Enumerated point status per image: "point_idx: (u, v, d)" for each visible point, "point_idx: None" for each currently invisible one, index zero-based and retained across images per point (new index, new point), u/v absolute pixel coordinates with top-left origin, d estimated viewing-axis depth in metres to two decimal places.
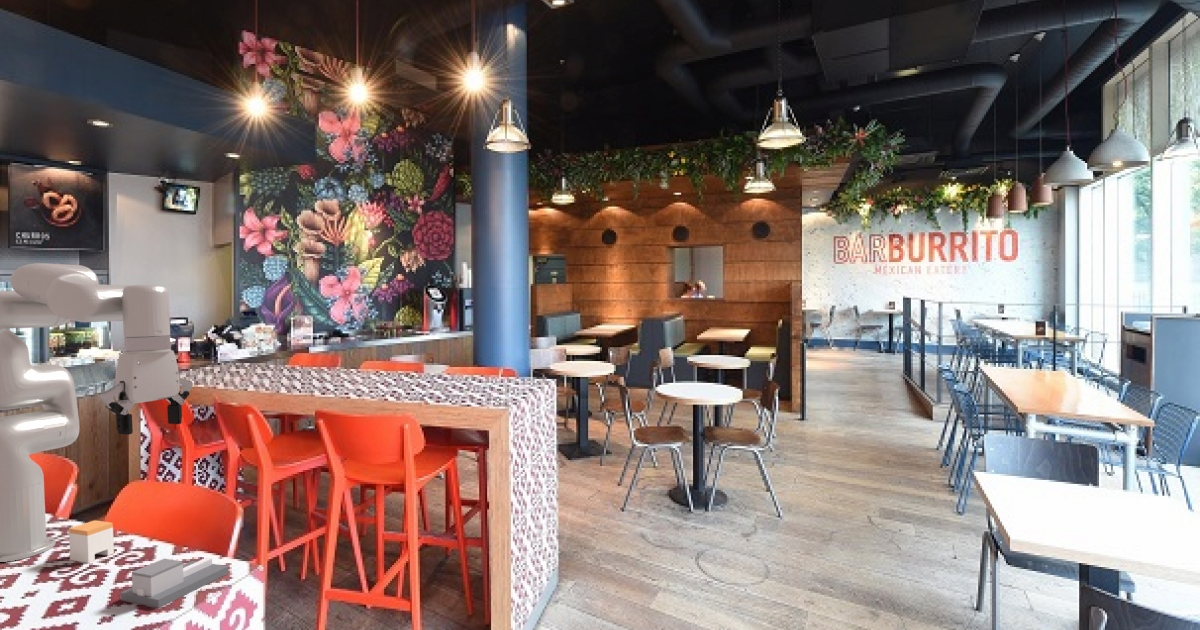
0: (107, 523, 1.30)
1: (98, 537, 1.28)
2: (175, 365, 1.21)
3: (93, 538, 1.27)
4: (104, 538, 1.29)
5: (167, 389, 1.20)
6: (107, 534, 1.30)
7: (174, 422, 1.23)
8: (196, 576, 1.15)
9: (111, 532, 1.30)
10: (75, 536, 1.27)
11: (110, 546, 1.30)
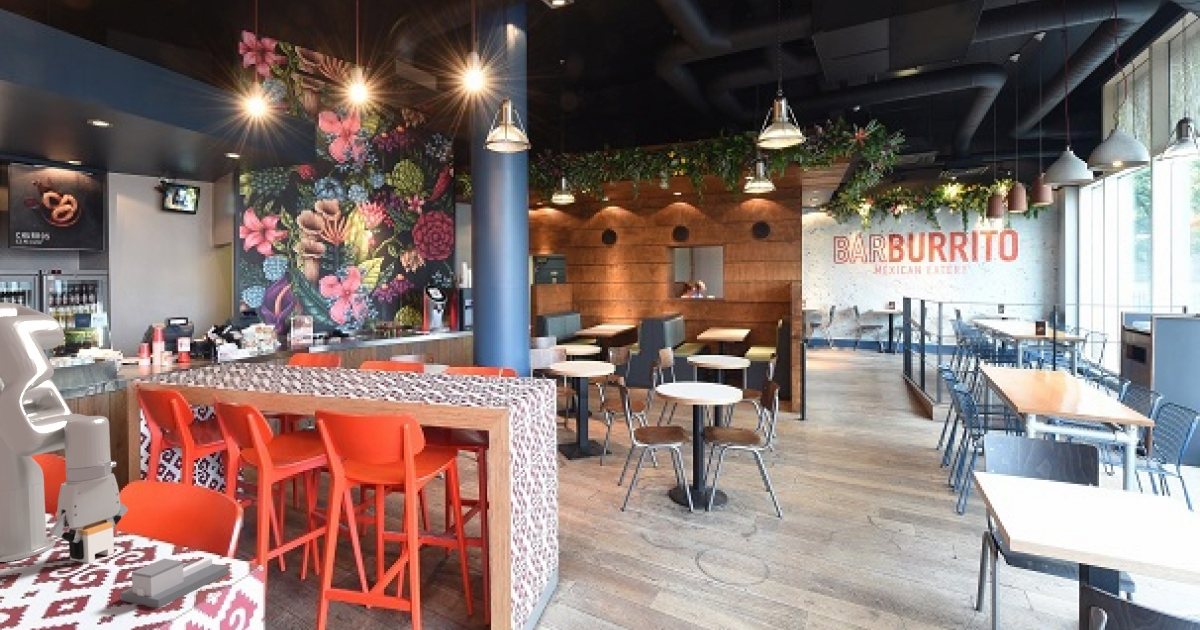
0: (107, 523, 1.30)
1: (98, 537, 1.28)
2: (115, 487, 1.32)
3: (93, 538, 1.27)
4: (104, 538, 1.29)
5: (107, 511, 1.30)
6: (108, 534, 1.30)
7: None
8: (196, 576, 1.15)
9: (111, 532, 1.30)
10: None
11: (110, 546, 1.30)
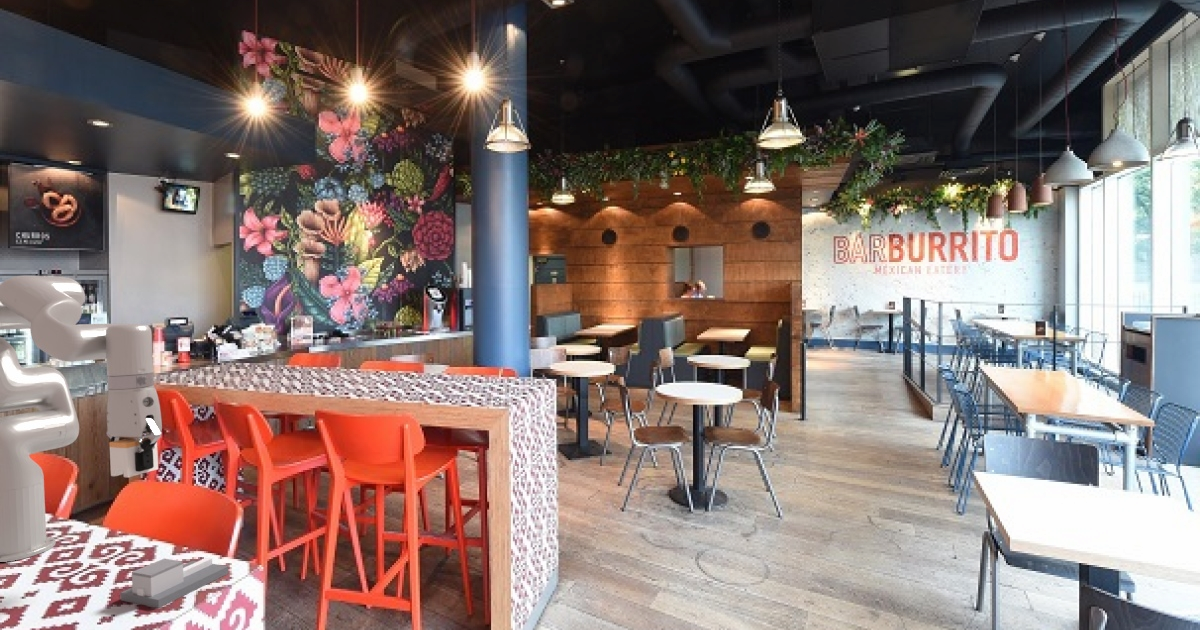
0: (126, 442, 1.19)
1: (116, 453, 1.19)
2: (134, 406, 1.18)
3: (113, 452, 1.19)
4: (120, 456, 1.19)
5: (128, 429, 1.19)
6: (123, 453, 1.18)
7: None
8: (196, 576, 1.15)
9: (125, 453, 1.18)
10: None
11: (125, 468, 1.18)
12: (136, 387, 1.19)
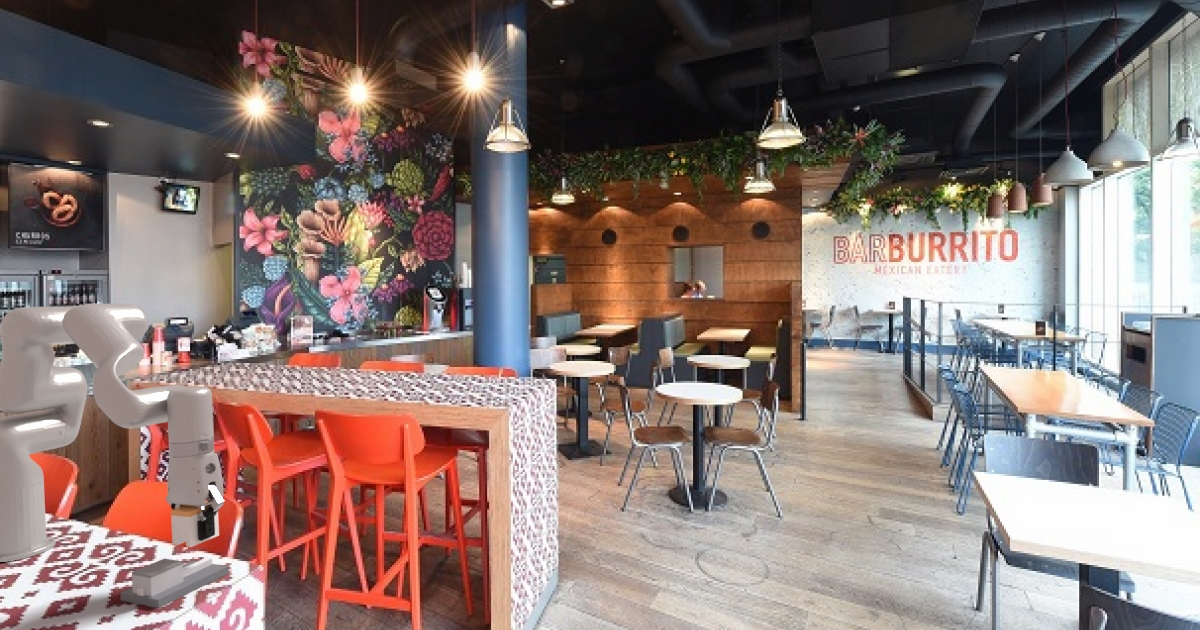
0: (189, 511, 1.15)
1: (178, 521, 1.15)
2: (197, 474, 1.15)
3: (175, 520, 1.16)
4: (183, 525, 1.15)
5: (190, 497, 1.15)
6: (185, 522, 1.15)
7: None
8: (196, 576, 1.15)
9: (188, 522, 1.14)
10: None
11: (188, 537, 1.15)
12: (198, 454, 1.15)
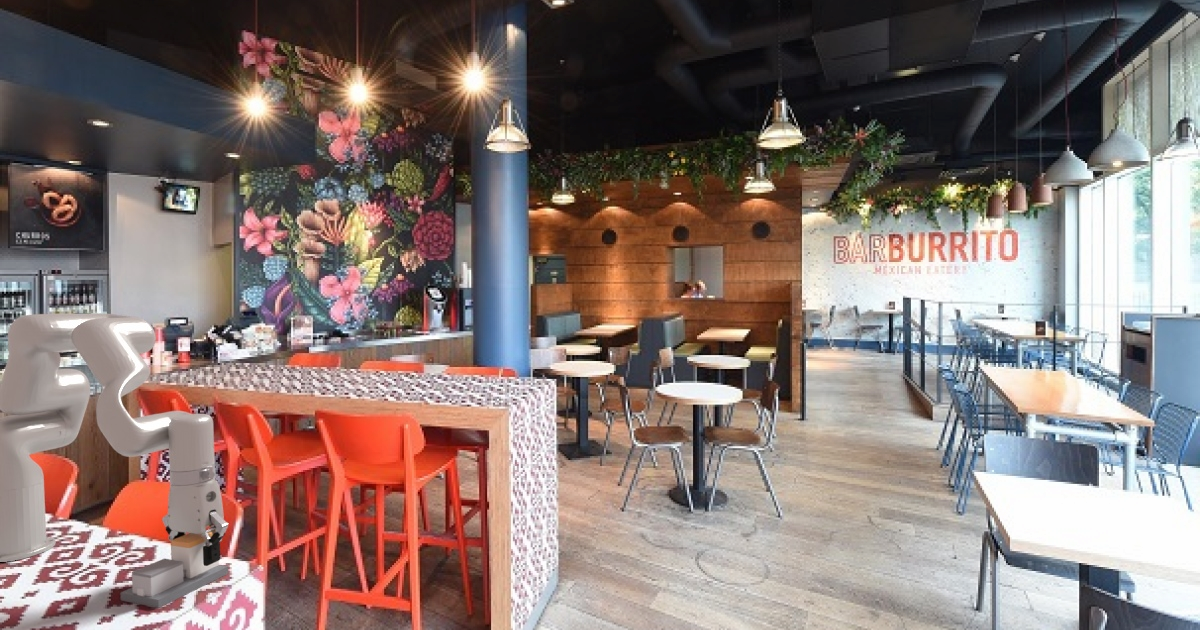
0: (189, 541, 1.15)
1: (178, 552, 1.16)
2: (197, 502, 1.15)
3: (175, 551, 1.16)
4: (183, 556, 1.15)
5: (191, 525, 1.15)
6: (185, 553, 1.15)
7: None
8: (196, 576, 1.15)
9: (188, 553, 1.15)
10: None
11: (188, 568, 1.15)
12: (199, 482, 1.16)
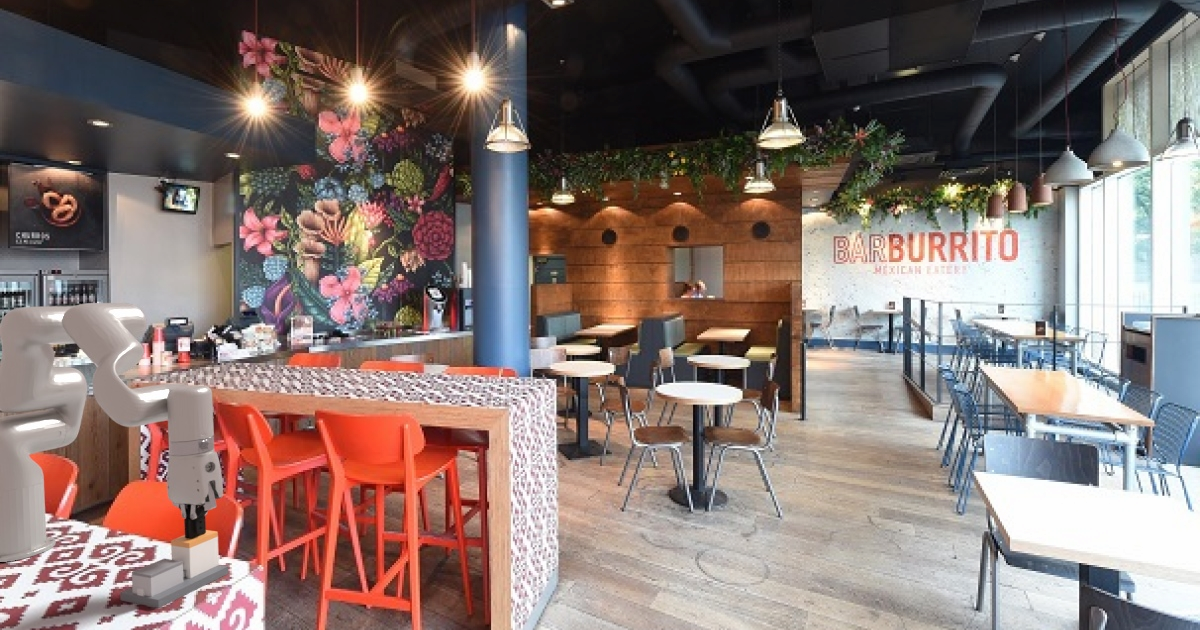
0: (189, 541, 1.15)
1: (178, 552, 1.16)
2: (197, 473, 1.15)
3: (175, 551, 1.16)
4: (183, 556, 1.15)
5: (190, 496, 1.15)
6: (185, 553, 1.15)
7: None
8: (196, 576, 1.15)
9: (188, 553, 1.15)
10: None
11: (188, 568, 1.15)
12: (198, 452, 1.15)
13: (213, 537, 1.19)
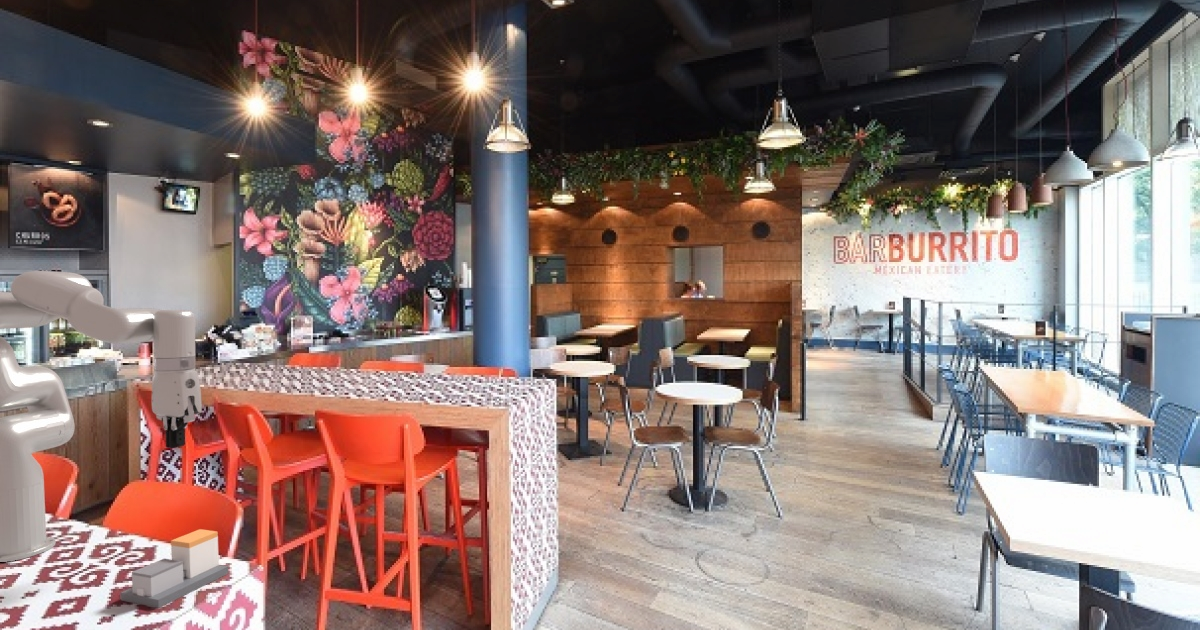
0: (189, 541, 1.15)
1: (178, 552, 1.16)
2: (177, 387, 1.26)
3: (175, 551, 1.16)
4: (183, 556, 1.15)
5: (171, 408, 1.27)
6: (185, 553, 1.15)
7: None
8: (196, 576, 1.15)
9: (188, 553, 1.15)
10: None
11: (188, 568, 1.15)
12: (180, 369, 1.27)
13: (213, 537, 1.19)
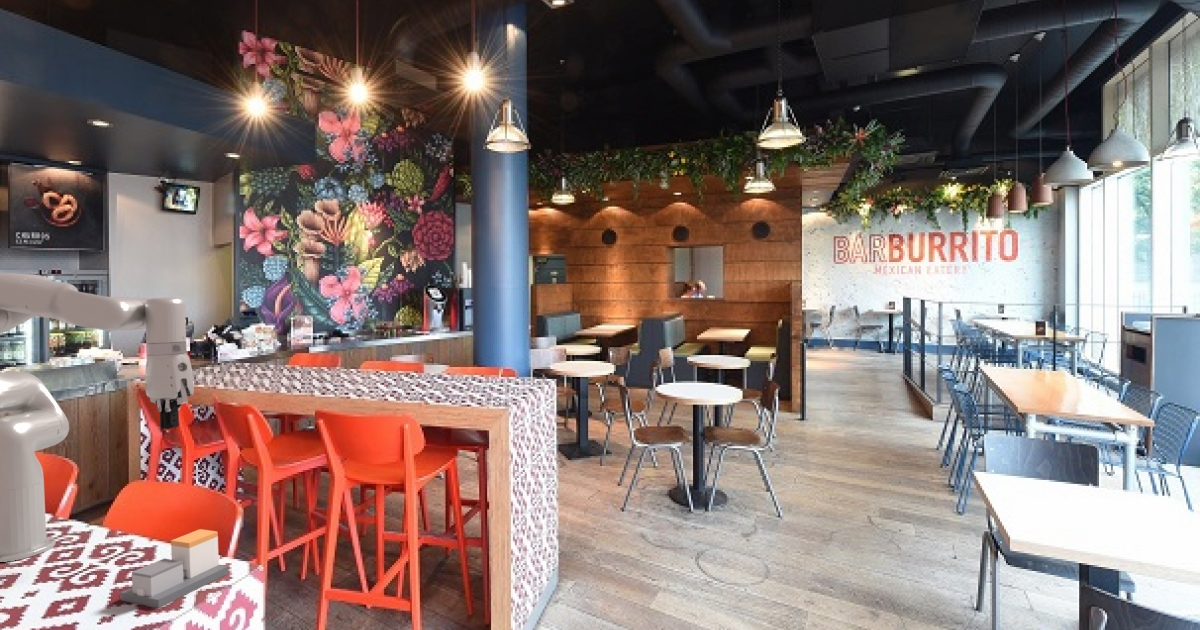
0: (189, 541, 1.15)
1: (178, 552, 1.16)
2: (170, 370, 1.33)
3: (175, 551, 1.16)
4: (183, 556, 1.15)
5: (165, 391, 1.33)
6: (185, 553, 1.15)
7: None
8: (196, 576, 1.15)
9: (188, 553, 1.15)
10: None
11: (188, 568, 1.15)
12: (172, 353, 1.34)
13: (213, 537, 1.19)
